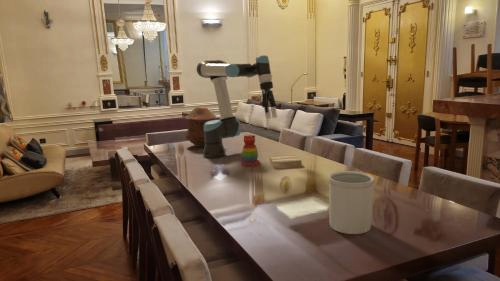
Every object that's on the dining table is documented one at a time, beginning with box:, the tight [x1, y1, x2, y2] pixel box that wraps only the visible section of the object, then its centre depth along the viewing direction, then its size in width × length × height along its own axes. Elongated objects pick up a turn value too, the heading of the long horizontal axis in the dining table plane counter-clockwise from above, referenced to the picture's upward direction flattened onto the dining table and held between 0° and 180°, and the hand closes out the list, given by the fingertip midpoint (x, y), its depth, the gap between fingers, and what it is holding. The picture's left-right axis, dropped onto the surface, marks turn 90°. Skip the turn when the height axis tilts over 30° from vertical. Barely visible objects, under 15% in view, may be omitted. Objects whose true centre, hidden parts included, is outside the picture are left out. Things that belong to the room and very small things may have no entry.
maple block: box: [269, 154, 302, 169], centre depth 211 cm, size 16×16×4 cm
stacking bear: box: [241, 134, 261, 167], centre depth 212 cm, size 11×10×18 cm
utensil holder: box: [327, 170, 375, 235], centre depth 122 cm, size 15×15×18 cm
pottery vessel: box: [184, 106, 217, 148], centre depth 276 cm, size 26×26×30 cm
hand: (271, 118), depth 213 cm, fingers open, 13 cm apart
